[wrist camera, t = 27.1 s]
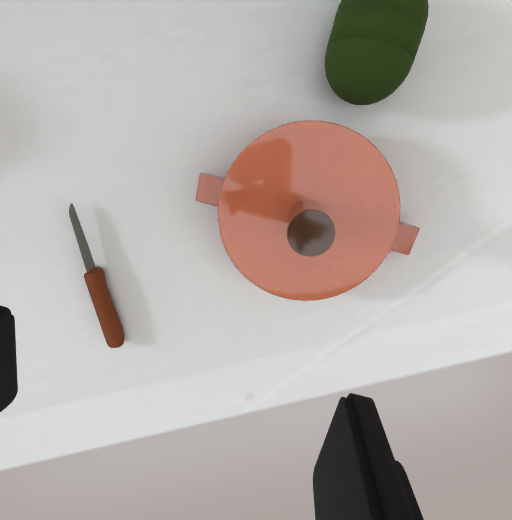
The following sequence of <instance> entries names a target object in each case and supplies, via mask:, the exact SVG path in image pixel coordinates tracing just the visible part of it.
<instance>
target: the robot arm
mask: <svg viewBox="0 0 512 520" xmlns="http://www.w3.org/2000/svg"><path fill="white" fill-rule="evenodd" d="M17 391H18V386H17V364H16V341H15V320H14V316H13V315H12V314H11V311H10V310H9V308H6V307H3V306H0V412H1V411H2V410H4V409H5V408H6V407H7V406H8V405H9V404H10V403H11V402H12V401H13V400H14V398H15V397H16V394H17ZM313 490H314V505H315V519H316V520H423V517H422V514H421V511H420V509H419V506H418V504H417V501H416V498H415V496H414V493H413V490H412V488H411V485H410V482H409V480H408V477H407V475H406V472H405V470H404V468H403V466H402V465H401V464H400V463H399V462H398V461H396V460H395V459H394V457H393V454H392V451H391V448H390V445H389V443H388V440H387V437H386V434H385V431H384V429H383V426H382V423H381V420H380V417H379V415H378V412H377V409H376V406H375V403H374V401H373V399H371V398H368V397H364V396H360V395H356V394H352V393H350V394H349V395H348V396H347V398H345V397H341V398H340V400H339V403H338V406H337V408H336V411H335V414H334V416H333V419H332V422H331V425H330V427H329V430H328V433H327V435H326V438H325V441H324V444H323V446H322V449H321V452H320V454H319V457H318V460H317V462H316V465H315V468H314V473H313Z"/></svg>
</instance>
